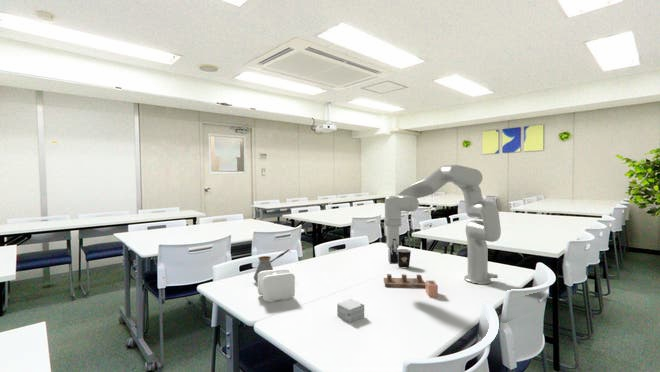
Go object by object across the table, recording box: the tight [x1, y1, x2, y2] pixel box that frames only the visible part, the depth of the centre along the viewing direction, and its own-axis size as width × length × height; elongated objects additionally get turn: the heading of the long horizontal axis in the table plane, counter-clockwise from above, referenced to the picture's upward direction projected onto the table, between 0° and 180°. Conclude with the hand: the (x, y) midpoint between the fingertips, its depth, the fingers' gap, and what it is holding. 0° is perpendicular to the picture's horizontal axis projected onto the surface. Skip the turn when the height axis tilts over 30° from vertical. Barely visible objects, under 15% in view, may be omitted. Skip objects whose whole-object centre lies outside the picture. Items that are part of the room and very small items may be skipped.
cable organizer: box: [257, 267, 296, 303], centre depth 142 cm, size 15×11×12 cm
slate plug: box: [387, 248, 399, 265], centre depth 145 cm, size 4×6×6 cm, turn 175°
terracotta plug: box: [425, 279, 439, 298], centre depth 144 cm, size 4×6×6 cm, turn 175°
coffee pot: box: [253, 249, 292, 282], centre depth 166 cm, size 21×12×15 cm, turn 128°
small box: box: [336, 298, 365, 323], centre depth 121 cm, size 8×8×5 cm
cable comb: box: [383, 273, 426, 289], centre depth 158 cm, size 20×10×4 cm, turn 85°
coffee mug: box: [397, 248, 412, 268], centre depth 191 cm, size 12×9×10 cm
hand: (393, 260), depth 145 cm, fingers closed on slate plug, 6 cm apart
